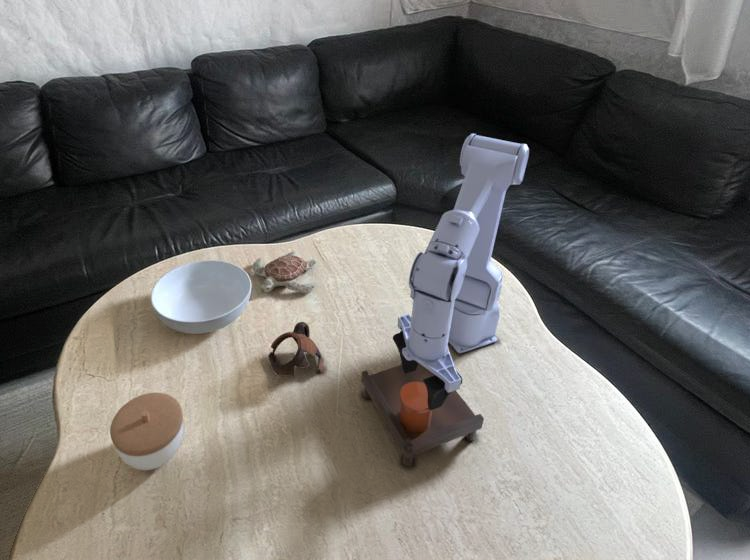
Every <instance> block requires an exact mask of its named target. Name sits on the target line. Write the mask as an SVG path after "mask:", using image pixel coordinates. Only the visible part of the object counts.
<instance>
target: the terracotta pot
mask: <svg viewBox="0 0 750 560" xmlns="http://www.w3.org/2000/svg"><path fill="white" fill-rule="evenodd" d="M400 400H401V407H400V417H399V418H400V422H401V424H402V425H403V427H404V428H406V429H407V430H409V431H411V432H415V433H420V432H423V431H425V430H427V429H428V428H429V426H430V422H431V416H432V410H430V408H429V407H428V392H427V388H426V385H425V384H424V383H420V382H410V383H407V384H406V385H404V386H403V387H402V389H401V391H400Z"/></svg>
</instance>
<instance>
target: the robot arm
mask: <svg viewBox="0 0 750 560" xmlns="http://www.w3.org/2000/svg"><path fill="white" fill-rule="evenodd" d="M529 155H530V148H529V147H528V144H527V143H518V142H513V141H508V140H502V139H498V138H493V137H489V136H488V137H487V136H483V135H477V133H470V135H468V136H467V137H466V138H465V139H464V142H463V144H462V147H461V152H460V157H459V166H460V167H461V168H460V171H461V175H463V176H464V177H463V178H464V179H463V181H462V185H461V187H460V190H459V193H458V195H457V199H456V201H455V204H454V207H453V209H451V210H448V211H446V212H444V213H443V214H442V215H441V217H440V219H439V222H438V224H437V225H436V227H435V230H434V232H433V234H432V236H431V238H430V241H429V242H428V244H427V246H426V249H425V251H424V252H422V251H420V252H418V253H417V255H416V256H415V258H414V260H413V262H412V265H411V268H410V271H409V277H408V288H409V289H410V294H409V297H410V298H411V299H412V309H411V315H410V314H409V313H408V314H404V315H402V316H399V317H397V328H398V329H399V330H400V331H399V332H397V333H395V334H393V335H392V341H393V342H394V344H395V346H396V348H397V351H398V353H399V359H400V362H401V363H400V364H402V368H403V371H404V372H405V374H406V373H409V372H412V371H415V370H416V369H417V366H418V363H419V364H421V365H422V366H424V367H425V368H426V369H428V370H429V371H431V372H432V373H433V374H435V375H436V376H435V375H434V376H432V377H429V378H426V379H423V382H424V383H425V385H426V388H427V392H428V407H429V408H430V410H434V409H436V408H439V407H441V406H442V405H443V403H444V401H445V399H446V398H447V396H448V395H449V394H450V393H451V392H452V391H455V390H456V391H457V390H460V388H461V385H462V384H463V377H462V375H461V374H460V373H459V371H457V370H456V366H455V364H454V360H453V357H452V354H451V352H450V349H449V345H451V347H452V348H453V349H454V350H455V351H456V352H457V354H463V353H466V352H469V351H472V350H475V349H477V348H481V347H484V346H487V345H490V344H493V343H497V342H498V337H497V336H496V333H497V329H498V325H499V320H500V312H501V311H500V307H499V304H498V301H499V298H500V295H501V291H502V287H503V286H502V285H503V284H502V281H503V277H504V276H503V271H502V270H501V269H500V268H499V267H498V266H497V265H496V264H495V263H494V262H493V261H492V256H493V251H494V246H495V241H496V237H497V234H498V233H497V232H498V228H499V224H500V220H501V216H502V211H503V206H504V201H505V197H506V194H507V193H506V192H507V190H508V189H509V187H510V186H511V185H512V186H513V185H516V186H517V185H521V183H522V182H523V180H524V177H525V172H526V167H527V164H528V160H529ZM448 344H449V345H448Z"/></svg>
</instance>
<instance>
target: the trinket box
mask: <svg viewBox="0 0 750 560" xmlns="http://www.w3.org/2000/svg"><path fill="white" fill-rule="evenodd" d="M184 427H185V426H184V415H183V409H182V406H181V404H180V402H179V401H178V400H177V399H176V398H175V397H174V396H172V395H171V394H167V393H164V392H147V393H144V394H141V395H138V396H136V397H134V398H132V399H130V400H129V401H127V402H126V403H125V404H123V405H122V406H121V407H120V408H119V409H118V410H117V412H116V414H115V415H114V416H113V418H112V421H111V424H110V428H109V435H110V439H111V441H112V444H113V446H114V448H115V450H116V453H117V455H118V456H119V458H120V459H121V460H122V461H123V462H124V463H125V464H126V465H127V466H129V467H131V468H132V469H135V470H138V471H153V470H156V469H158V468H160V467H162V466H164V465H166V464H168V463H169V462H170V461H171V460H172V459H173V458H174V457H175V455H176V454H177V452H178V451H179V449H180V447H181V445H182V442H183V437H184V430H185V429H184Z"/></svg>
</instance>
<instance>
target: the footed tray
mask: <svg viewBox="0 0 750 560" xmlns="http://www.w3.org/2000/svg"><path fill="white" fill-rule="evenodd" d="M434 375H435V374H433V373H432V372H431V371H429V370H428V369H426V368H425V367H424V366H422V365H421V364H419V363H418V366H417V369H416V370H415V371H412V372H409V373H406V374H405V372H404V371H403V368H402V363H400V364H398V365H395V366H392V367H388V368H386V369H383V370H380V371H377V372H373V373H369V372H368V370H363V371H361V378H360V382H361V385H363V388H364V389H363V397H364V398H365V399H371V401H372V402H373V404H374V406H375V408H376V409H377V411H378V412H379V415H380V417H381V418H382V419H383V421H384V423H385V424H386V426H387V428H388V430H389V432H390V433H391V435H392V436H393V438H394V439H395V442H396V443H397V445H398V446H399V448H400V450H401V451H402V453H403V458H402V464H403V465H404V467H411V466H412V465H413V457H415V456H416V455H418V454H421V453H425V452H427V451H428V450H430V449H434V448H436V447H439V446H442V445H444V444H446V443H448V442H451V441H454V440H456V439H459V438H461V437H463V436H465V438H466V440H467V441H469V442H473V441H475V440H476V435H477V431H479V430H481V429H483V424H484V420H485V418H484V416H483V415H482V413H478V414H475V413H474V411H473V410H472V409H471V408H470V406H469V405H468V404H467V402H466V401H465V400H464V399H463V397H462V396H461V394H459V392H458V391H457V390H455V391H452V392H451V393H450V394H449V395H448V396H447V398H446V399H445V401H444V403H443V405H442V406H441V407H439V408H436V409H434V410H432V416H431V422H430V426H429V428H428V429H427V430H425V431H423V432H420V433H415V432H411V431H409V430H407V429H406V428H404V427H403V425H402V424H401V422H400V418H399V417H400V407H401V400H400V391H401V389H402V387H403V386H404V385H406V384H407V383H410V382H420V383H424V382H423V379H426V378H429V377H432V376H434ZM435 376H436V375H435ZM424 384H425V383H424Z"/></svg>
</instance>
